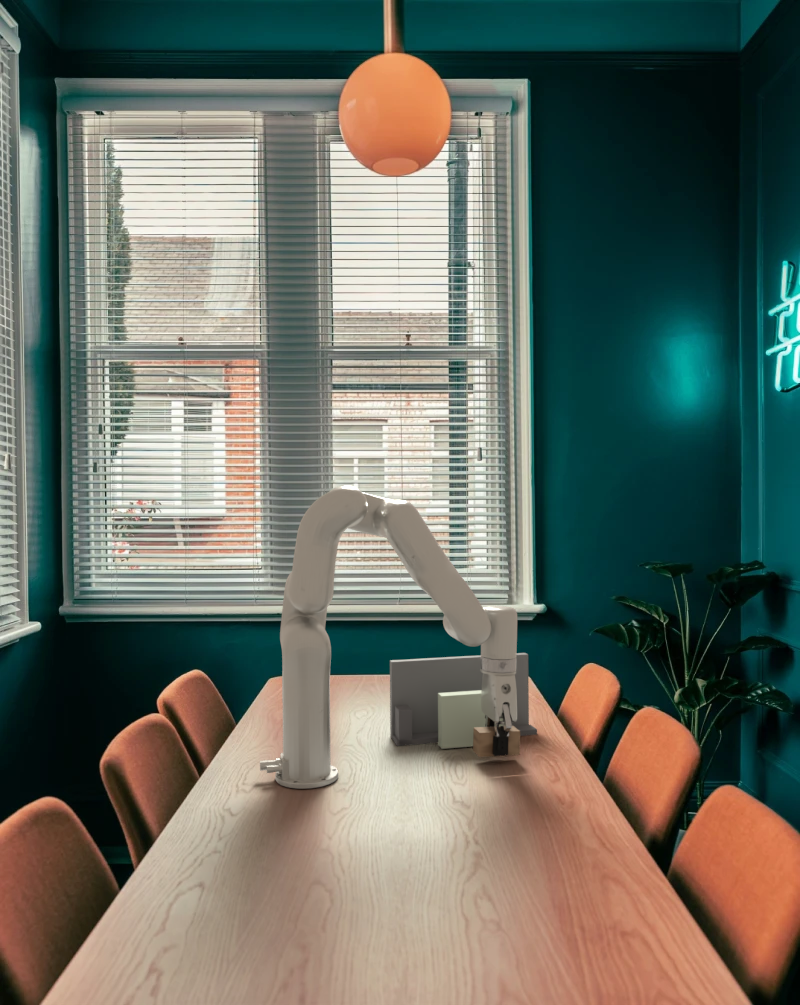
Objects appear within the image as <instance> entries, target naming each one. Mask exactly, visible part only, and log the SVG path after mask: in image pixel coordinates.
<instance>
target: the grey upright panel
mask: <svg viewBox="0 0 800 1005" xmlns="http://www.w3.org/2000/svg"><path fill="white" fill-rule="evenodd" d="M480 669H481V654H480V655H477V654H476V655H464V656H463V655H462V656H446V657H445V656H444V657H443V656H442V657H427V658H426V657H425V658H410V659H392V660H391V659H390V660H389V702H390V703H389V710H390V711H389V712H390V714H389V718H390V720H389V721H390V724H389V726H390V729H389V730H390V738H391V739H392V741H393V743H394V744H395V745H396V746H397V747H398V746H411V745H412V746H413V745H423V744H436V743H438V693H446V692H461V691H476V690H482V678H483V673H482V672H481V671H480ZM514 675H515V680H516V691H517V721H516V722H512V721H511V724H512V726H514V727H516V728H517V729H518V730H519V731H520V737H521V736H522V737H524V736H535V735H536V736H537V735H538V728H536V727H534V726H533V725H531V724H530V719H529V718H530V711H529V710H530V708H529V707H530V705H529V704H530V702H529V701H530V700H529V698H530V697H529V654H528V653H526V652H518V653H517V654H516V674H514Z"/></svg>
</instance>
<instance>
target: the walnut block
mask: <svg viewBox="0 0 800 1005" xmlns="http://www.w3.org/2000/svg"><path fill="white" fill-rule="evenodd" d="M499 728H500V726H499ZM493 736H495V727H474V730H473V746H472V752H473V753H475V755H477V757H478V758H485V757H486V758H487V757H495V756H494V755H493ZM520 755H521V736H520V731H519V730H518V729H517V728H516V727H514V726H512V728H511V729H510V730H509V737H508V755H505V757H506V756H508V757H509V756H520Z"/></svg>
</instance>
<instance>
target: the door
mask: <svg viewBox="0 0 800 1005" xmlns="http://www.w3.org/2000/svg"><path fill="white" fill-rule="evenodd" d="M481 691H482V690H476V691H461V692H446V693H438V744H437V745H438V746H439V747H440V749H442V750H445V749H454V748H455V749H456V748H467V747H469V748H470V747H473V730H474V727H485V721H486V719H485V714H484V713H483V712H482V709H481ZM500 721H503V718H500ZM499 726H503V724H499Z"/></svg>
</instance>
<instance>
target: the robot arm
mask: <svg viewBox="0 0 800 1005" xmlns="http://www.w3.org/2000/svg"><path fill="white" fill-rule="evenodd" d="M303 514H304V515H303V516H302V518H301V520H300V522H299V526H298V529H297V534H296V538H295V539H296V540H295V547H294V552H293V558H292V559H293V560H292V567H291V568H292V569H291V572H290V573H289V574H288V576H287V578H286V581H285V585H284V589H283V590H284V591H283V601H282V609H281V610H282V611H281V621H280V629H279V631H280V632H279V641H280V647H281V655H282V656H281V658H282V660H281V662H282V665H281V667H282V671H281V672H282V674H281V675H282V677H281V685H282V688H281V697H282V699H281V700H282V701H281V702H282V752H281V753H280V757H276V758H275V759H273V760H272V759H271V760H269V759H267V760H265V759H264V760H262V759H261V760H259V771H266V774H273V773H275V775H274V777H275V779H274V780H275V781H276V783H277V784H279V786H282V787H285V788H290V789H297V790H298V789H299V790H301V789H302V790H304V789H305V790H306V789H315V788H316V789H317V788H321V787H326V786H328V785H330V784H333V783H334V782H336V780H338V779H339V770H338V768H337V767H336V766H334V765H332V764H331V758H332V757H331V663H332V662H331V660H332V645H331V640H330V636H329V634H328V633H327V630H326V624H327V623H326V622H327V613H328V607H329V605H330V604H331V602H332V600H333V597H334V590H335V589H334V588H335V587H334V585H335V572H336V571H335V570H336V561H337V554H338V545H339V543H340V539H341V537H342V535H343V534H344V532H345V531H347V529H348V530H352V531H355V532H359V533H363V534H367V535H372V536H375V537H380V538H386V540H387V542H388V543H389V544H390V546H391V547H392V549H393V550H394V552H395V554H396V555H397V556H398V559H399V560H400V561H401V563H402V564H403V567H404V569H405V570H406V571H407V572H408V574H409V576H410V577H411V578H412V580H413V581H414V583H415V584H416V585H417V586H418V587H419V588H420V589H421V590H422V591H423V592H425V593H426V595H428V596H429V597H430V598H431V599H432V601H433V602H434V603H435V604H436V605H437V607H438V608H439V609H440V611H441V612H442V613H443V618H442V624H443V628H444V630H445V632H446V633H447V634H448V635H449V636H450V637H452V638H453V639H455V640H456V641H457V642H460V643H462V644H463V645H465V646H467V647H474V648H475V647H479V646H480V655H481V669H480V671H481V672H482V673H483V678H482V691H481V709H482V712H483V713H484V714H485V719H486V721H485V727H495V736H493V755H494V756H493V757H504V756H505V755H508V737H509V730H510V729H511V728H512V724H511V721H512V722H516V721H517V691H516V680H515V675H514V674H516V654H517V648H518V647H517V645H518V643H517V642H518V612H517V610H516V609H515V608H514V607H511V606H507V605H506V606H504V605H490V606H482V604H481V603H480V601H479V599H478V598H477V596H476V595H475V593H474V592H473V590H472V589H471V587H470V586H469V585H468V583H467V582H466V581H465V580H464V578H463V576H461V574H460V572H459V571H458V570H457V568H456V566H454V564H453V563H452V562H451V560H450V559H449V558H448V556H447V555H446V554H445V552H444V550H443V548H442V547H441V545H440V544H439V543H438V541H437V540H436V538H435V536H434V534H433V533H432V531H431V530H430V528H429V526H428V525H427V523H426V522H425V520H424V518H423V516H422V515H421V514H420V512H419V511H418V509H417V508H416V507H415V506H414V504H412V503H411V502H409V501H408V500H404V499H391V498H385V497H381V496H377V495H373V494H369V493H365V492H363V491H362V490H360V489H359V488H358V487H356V486H353V485H341V486H337V487H334V488H332V489H330V490H329V491H328V492H326V493H324V494H323V495H321V496H320V497H318V498H317V499H316V500H314V502H313V503H312V504H310V506H309V507H308V508H307V510H306V511H305V513H303ZM500 718H503V721H500ZM499 724H503V726H500V728H499ZM505 757H506V756H505Z"/></svg>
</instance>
